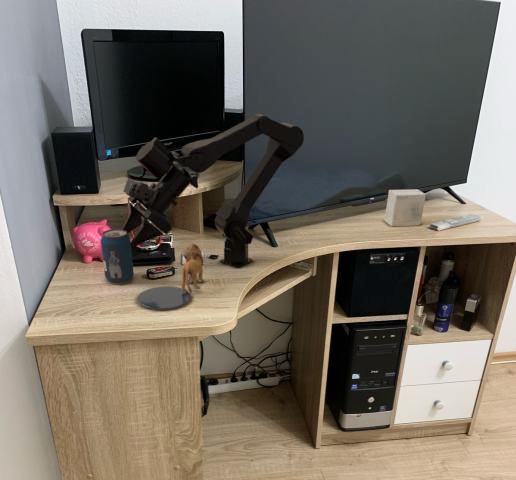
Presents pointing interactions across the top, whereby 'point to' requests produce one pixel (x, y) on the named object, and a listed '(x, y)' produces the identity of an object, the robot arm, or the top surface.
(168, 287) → the coaster
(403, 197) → the cosmetics box
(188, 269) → the lion figurine
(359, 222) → the top surface
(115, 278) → the soda can
